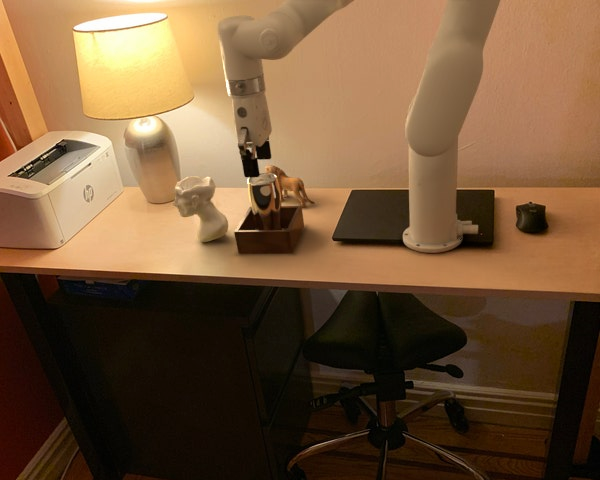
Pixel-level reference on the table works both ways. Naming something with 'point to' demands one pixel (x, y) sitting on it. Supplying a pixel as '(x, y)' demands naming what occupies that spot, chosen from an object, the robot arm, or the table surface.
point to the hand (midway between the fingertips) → (258, 167)
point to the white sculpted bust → (201, 206)
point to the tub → (270, 233)
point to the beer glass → (265, 201)
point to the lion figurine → (289, 184)
